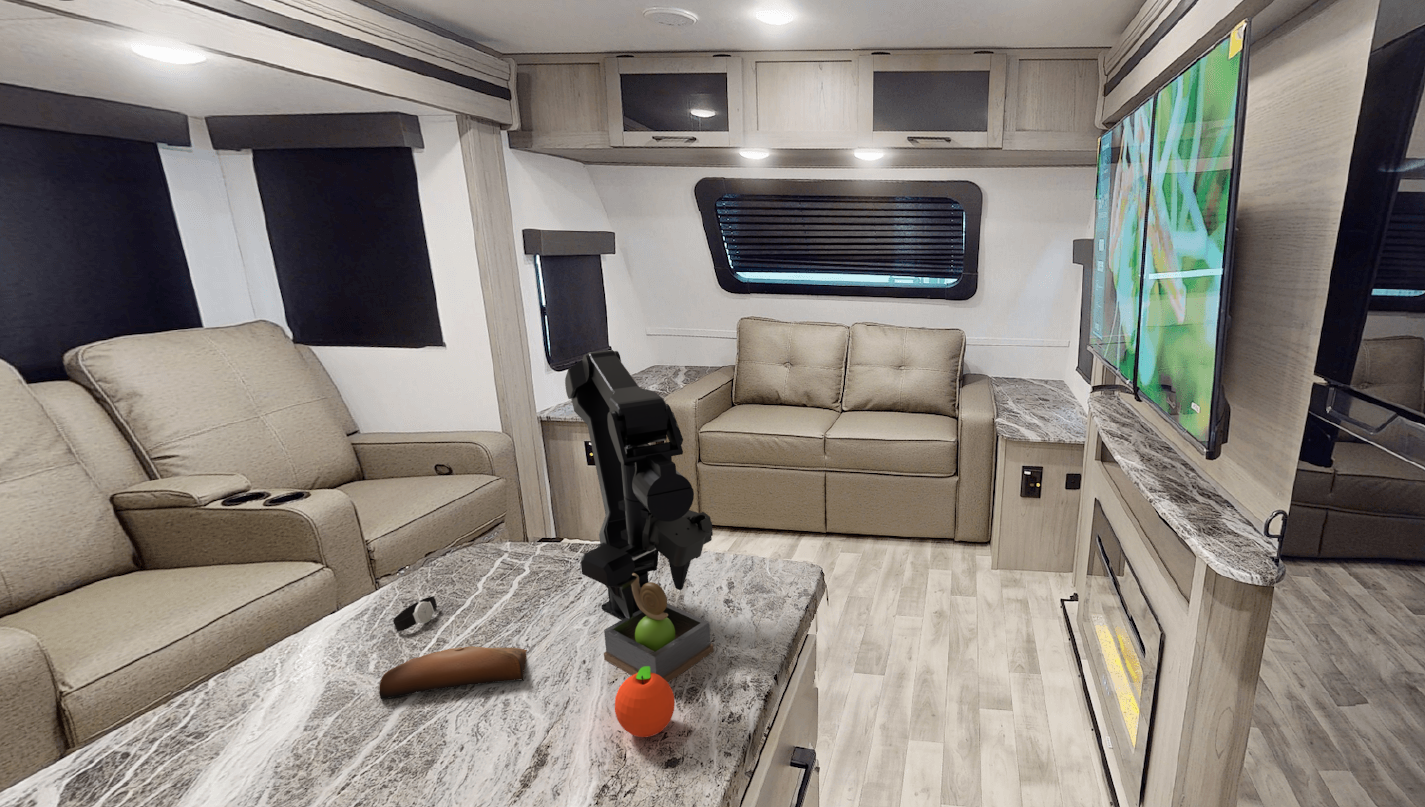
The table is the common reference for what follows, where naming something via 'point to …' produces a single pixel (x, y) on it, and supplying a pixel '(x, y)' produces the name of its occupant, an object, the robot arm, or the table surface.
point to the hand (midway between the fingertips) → (654, 602)
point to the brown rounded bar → (453, 670)
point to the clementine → (644, 703)
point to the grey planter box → (670, 658)
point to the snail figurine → (652, 616)
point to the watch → (415, 614)
